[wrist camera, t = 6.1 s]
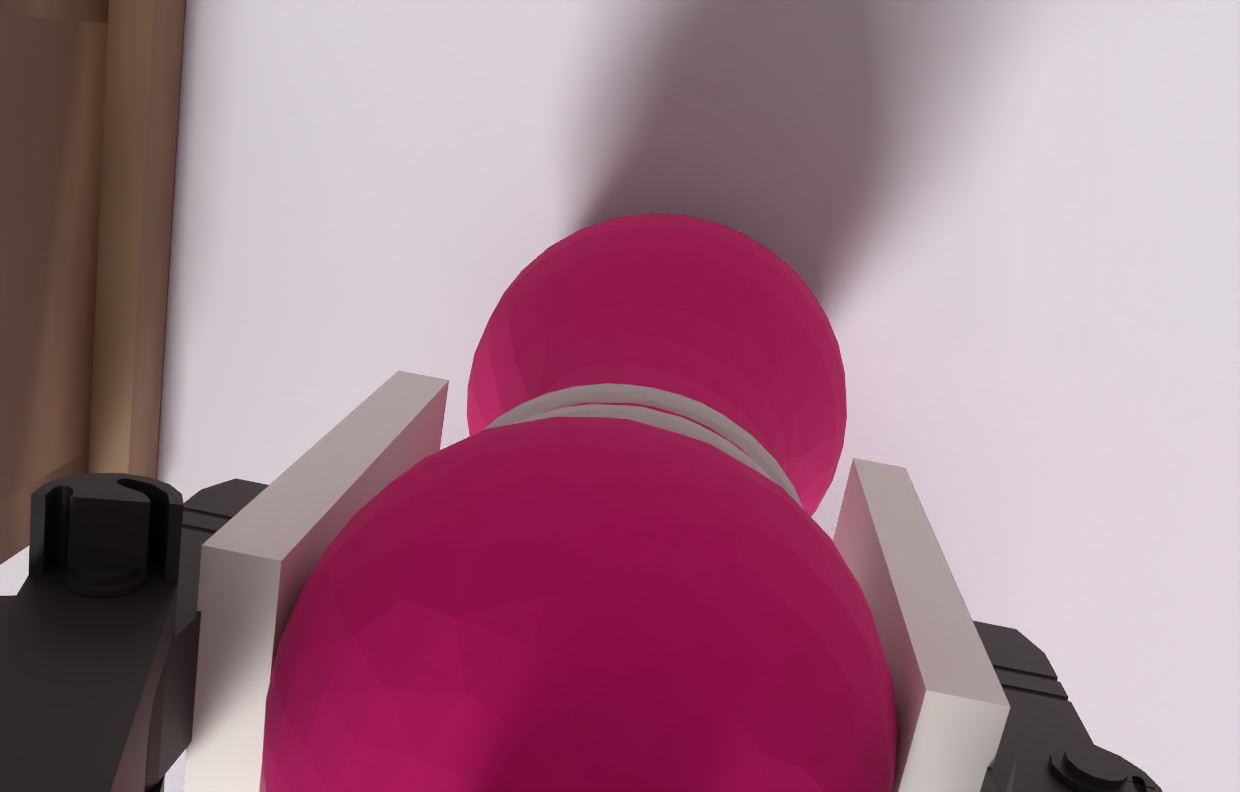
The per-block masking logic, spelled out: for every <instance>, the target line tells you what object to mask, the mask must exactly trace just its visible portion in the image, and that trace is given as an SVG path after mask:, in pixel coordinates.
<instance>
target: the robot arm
mask: <svg viewBox="0 0 1240 792" xmlns="http://www.w3.org/2000/svg"><path fill="white" fill-rule="evenodd" d="M448 383H449V380H444V379H439V378H434V377H429V376H423V375H418V374H413V373H408V372H402V371H398V372H397V373H395V374H394V375H393V376H392V377H391V378H390V379H389V380H387V381H386V382H385V383H384V384H383V385H382V386H381V387H380V388H378V389H377V390H376V391H375V392H374V393H373V394H372V395H371V396H369V397H368V398H367V399H366V400H365V401H364V402H363V403H362V404H360V405H359V406H358V407H357V408H356V409H355V410H354V411H353V412H351V413H350V414H349V415H348V416H347V417H346V418H345V419H343V420H342V421H341V422H340V423H339V424H338V425H337V426H336V427H334V428H333V429H332V430H331V431H330V432H329V433H328V434H327V435H325V436H324V437H323V438H322V439H321V440H320V441H319V442H318V443H316V444H315V445H314V446H313V447H312V448H311V449H310V450H308V451H307V452H306V453H305V454H304V455H303V456H302V457H301V458H299V459H298V460H297V461H296V462H295V463H294V464H293V465H292V466H290V467H289V468H288V469H287V470H286V471H285V472H284V473H283V474H281V475H280V476H279V477H278V478H277V479H276V480H275V481H273V482H272V483H271V484H270V485H266V484H261V483H256V482H251V481H246V480H241V479H233V480H230V481H227V482H223V483H220V484H217V485H214V486H211V487H208V488H205V489H202V490H200V491H199V492H198V493H196V494H195V495H194V496H192V497H191V498H190V499H189V500H187V501H186V502H185V503H183V498H182V494H181V493H180V492H179V491H177V490H176V489H175V488H174V487H172V486H171V485H170V484H167V483H164V482H161V481H159V480H156V479H153V478H150V477H145V476H138V475H132V474H125V473H88V474H81V475H73V476H66V477H63V478H60V479H57V480H54V481H51V482H48V483H45V484H43V485H42V486H41V487H39V488H38V489H37V490H35V491H34V492H33V493H32V494H31V514H30V549H29V576H28V577H27V579H26V581H25V582H24V584H23V586H22V587H21V589H20V591H19V592H18V594H17V596H0V792H164V779H165V774H166V772H167V771H168V770H169V769H170V767H171V766H172V765H173V764H174V762H175V761H176V760H177V759H178V757H179V756H180V755H181V754H182V753H183V751H184V750H185V749H186V748H187V749H186V763H185V776H184V790H183V792H266V787H265V779H264V771H263V763H262V753H263V738H264V722H265V706H266V697H267V692H268V688H269V684H270V679H271V675H272V671H273V666H274V662H275V657H276V653H277V649H278V644H279V641H280V639H281V636H282V634H283V632H284V629H285V627H286V625H287V622H288V620H289V617H290V615H291V613H292V610H293V608H294V606H295V603H296V601H297V599H298V596H299V594H300V591H301V589H302V588H303V586H304V584H305V583H306V581H307V579H308V578H309V576H310V574H311V573H312V571H313V569H314V568H315V566H316V564H317V563H318V561H319V559H320V558H321V556H322V554H323V553H324V551H325V550H326V548H327V547H328V546H329V545H330V543H331V542H332V541H333V540H334V539H335V537H336V536H337V535H338V534H339V532H340V531H341V530H342V529H343V528H344V526H345V525H346V524H347V523H348V522H349V520H350V519H351V518H352V517H353V515H354V514H355V513H356V512H357V511H359V510H360V509H361V508H362V507H363V506H364V505H365V504H367V503H368V502H369V501H370V500H371V499H372V498H373V497H374V496H376V495H377V494H378V493H379V492H380V491H381V490H382V489H384V488H385V487H386V486H387V485H388V484H389V483H391V482H392V481H393V480H395V479H396V478H398V477H399V476H400V475H402V474H403V473H404V472H406V471H407V470H408V469H410V468H411V467H412V466H414V465H415V464H417V463H418V462H419V461H421V460H422V459H423V458H425V457H427V456H429V455H431V454H433V453H436V452H438V451H439V450H440V443H441V435H442V428H443V420H444V413H445V405H446V398H447V391H448ZM833 543H834V544H835V546H836V548H837V549H838V551H839V552H840V554H841V556H842V557H843V559H844V561H845V562H846V564H847V565H848V567H849V569H850V570H851V572H852V574H853V575H854V577H855V578H856V580H857V582H858V583H859V585H860V587H861V589H862V591H863V593H864V596H865V598H866V600H867V603H868V605H869V607H870V610H871V612H872V615H873V618H874V621H875V625H876V628H877V631H878V635H879V638H880V641H881V644H882V648H883V651H884V654H885V658H886V661H887V664H888V668H889V671H890V674H891V677H892V681H893V690H894V699H895V708H896V716H897V767H896V777H895V782H894V788H893V792H1162V790H1161V788H1160V787H1159V786H1158V785H1157V784H1156V783H1155V782H1154V781H1153V780H1152V779H1151V778H1150V777H1149V776H1148V775H1147V774H1146V773H1145V772H1144V771H1142V770H1141V769H1139V768H1138V767H1136V766H1135V765H1133V764H1131V763H1130V762H1128V761H1127V760H1125V759H1124V758H1122V757H1121V756H1119V755H1116V754H1114V753H1112V752H1109V751H1107V750H1105V749H1102V748H1100V747H1098V746H1096V745H1094V744H1093V742H1092V740H1091V738H1090V736H1089V734H1088V733H1087V731H1086V729H1085V727H1084V725H1083V723H1082V721H1081V720H1080V718H1079V716H1078V714H1077V712H1076V710H1075V709H1074V707H1073V705H1072V703H1071V702H1069V701H1068V696H1067V694H1066V692H1065V690H1064V688H1063V686H1062V684H1061V683H1060V682H1058V681H1057V678H1058V677H1057V675H1056V673H1055V672H1054V670H1053V668H1052V666H1051V664H1050V662H1049V660H1048V659H1047V657H1046V655H1045V653H1044V652H1042V651H1041V650H1040V649H1039V648H1038V647H1037V646H1035V645H1034V644H1033V643H1032V642H1031V641H1029V640H1028V639H1027V638H1026V637H1025V636H1024V635H1022V634H1021V633H1020V632H1019V631H1018V630H1017V629H1012V628H1007V627H1002V626H997V625H992V624H987V623H982V622H977V621H972V618H971V616H970V614H969V612H968V609H967V607H966V605H965V602H964V600H963V598H962V596H961V593H960V591H959V589H958V587H957V584H956V582H955V580H954V577H953V575H952V573H951V571H950V568H949V566H948V564H947V562H946V559H945V557H944V555H943V552H942V550H941V548H940V546H939V543H938V541H937V539H936V537H935V534H934V532H933V530H932V527H931V525H930V523H929V521H928V518H927V516H926V514H925V512H924V509H923V507H922V505H921V502H920V500H919V498H918V496H917V493H916V491H915V489H914V487H913V484H912V482H911V480H910V477H909V475H908V473H907V471H906V468H903V467H897V466H892V465H887V464H882V463H877V462H871V461H866V460H861V459H856V458H853V461H852V465H851V469H850V473H849V478H848V482H847V486H846V490H845V494H844V498H843V502H842V507H841V511H840V515H839V519H838V523H837V527H836V531H835V536H834V540H833Z"/></svg>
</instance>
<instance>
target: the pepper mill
mask: <svg viewBox="0 0 1240 792" xmlns="http://www.w3.org/2000/svg"><path fill="white" fill-rule="evenodd" d="M846 419H847V411H846V388H845V372H844V367H843V363H842V359H841V354H840V350H839V345H838V342H837V340H836V337H835V335H834V332H833V330H832V327H831V325H830V322H829V320H828V318H827V316H826V314H825V313H824V311H823V309H822V308H821V306H820V304H819V303H818V301H817V299H816V298H815V296H814V294H813V293H812V291H811V290H810V289H809V288H808V287H807V286H806V284H805V283H804V282H803V281H802V280H801V278H800V277H799V276H798V275H797V274H796V273H795V271H794V270H793V269H792V268H790V267H789V266H788V265H787V264H786V263H785V262H783V261H782V260H781V259H780V258H779V257H778V256H776V255H775V254H774V253H773V252H772V251H771V250H769V249H767V248H766V247H764V246H763V245H761V244H759V243H758V242H756V241H754V240H753V239H751V238H749V237H748V236H746V235H744V234H742V233H740V232H737V231H735V230H732V229H730V228H727V227H725V226H722V225H720V224H718V223H715V222H711V221H707V220H702V219H698V218H693V217H689V216H684V215H671V214H644V215H635V216H627V217H619V218H614V219H611V220H608V221H605V222H602V223H599V224H596V225H593V226H590V227H587V228H584V229H581V230H579V231H577V232H575V233H574V234H572V235H570V236H568V237H566V238H565V239H563V240H561V241H559V242H557V243H556V244H554V245H552V246H550V247H549V248H548V249H546V250H545V251H544V252H543V253H542V254H541V255H539V256H538V257H537V258H536V259H535V260H534V261H533V262H531V263H530V264H529V265H528V266H527V267H526V268H524V269H523V270H522V271H521V273H520V274H519V275H518V276H517V278H516V279H515V280H514V281H513V282H512V284H511V285H510V286H509V287H508V289H507V290H506V291H505V292H504V294H503V296H502V297H501V299H500V301H499V303H498V305H497V306H496V308H495V310H494V312H493V313H492V315H491V317H490V319H489V321H488V323H487V326H486V328H485V330H484V333H483V335H482V337H481V340H480V342H479V344H478V347H477V349H476V351H475V354H474V359H473V364H472V369H471V374H470V379H469V383H468V396H467V420H468V427H469V435H470V437H468V438H466V439H464V440H461V441H459V442H457V443H455V444H453V445H451V446H448V447H446V448H444V449H442V450H440V451H438V452H436V453H433V454H431V455H429V456H427V457H425V458H423V459H422V460H421V461H419V462H418V463H417V464H415V465H414V466H412V467H411V468H410V469H408V470H407V471H406V472H404V473H403V474H402V475H400V476H399V477H398V478H396V479H395V480H393V481H392V482H391V483H389V484H388V485H387V486H386V487H385V488H384V489H382V490H381V491H380V492H379V493H378V494H377V495H376V496H374V497H373V498H372V499H371V500H370V501H369V502H368V503H367V504H365V505H364V506H363V507H362V508H361V509H360V510H359V511H357V512H356V513H355V514H354V515H353V517H352V518H351V519H350V520H349V522H348V523H347V524H346V525H345V526H344V528H343V529H342V530H341V531H340V532H339V534H338V535H337V536H336V537H335V539H334V540H333V541H332V542H331V543H330V545H329V546H328V547H327V548H326V550H325V551H324V553H323V554H322V556H321V558H320V559H319V561H318V563H317V564H316V566H315V568H314V569H313V571H312V573H311V574H310V576H309V578H308V579H307V581H306V583H305V584H304V586H303V588H302V589H301V591H300V594H299V596H298V599H297V601H296V603H295V606H294V608H293V610H292V613H291V615H290V617H289V620H288V622H287V625H286V627H285V629H284V632H283V634H282V636H281V639H280V641H279V644H278V649H277V653H276V657H275V662H274V666H273V671H272V675H271V679H270V684H269V688H268V692H267V697H266V706H265V722H264V738H263V753H262V763H263V771H264V779H265V787H266V792H893V788H894V782H895V777H896V767H897V716H896V708H895V699H894V690H893V681H892V677H891V674H890V671H889V668H888V664H887V661H886V658H885V654H884V651H883V648H882V644H881V641H880V638H879V635H878V631H877V628H876V625H875V621H874V618H873V615H872V612H871V610H870V607H869V605H868V603H867V600H866V598H865V596H864V593H863V591H862V589H861V587H860V585H859V583H858V582H857V580H856V578H855V577H854V575H853V574H852V572H851V570H850V569H849V567H848V565H847V564H846V562H845V561H844V559H843V557H842V556H841V554H840V552H839V551H838V549H837V548H836V546H835V544H834V543H833V541H832V540H831V538H830V537H829V536H828V535H827V534H826V533H825V532H824V531H823V530H822V529H821V528H820V526H819V525H818V524H817V523H816V522H815V521H814V520H813V519H812V518H811V516H812V515H813V514H814V513H815V511H816V510H817V508H818V506H819V504H820V502H821V501H822V499H823V497H824V495H825V493H826V491H827V490H828V488H829V486H830V484H831V482H832V481H833V478H834V474H835V471H836V468H837V464H838V461H839V458H840V455H841V451H842V448H843V443H844V435H845V427H846Z"/></svg>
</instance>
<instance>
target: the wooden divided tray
mask: <svg viewBox="0 0 1240 792" xmlns="http://www.w3.org/2000/svg"><path fill="white" fill-rule="evenodd" d="M184 14H185V0H0V564H2V563H3V562H5V561H6V560H8V559H9V558H11V557H12V556H14V555H15V554H17V553H18V552H20V551H21V550H23V549H24V548H26V547H27V546H29V545H30V514H31V494H32V493H33V492H34V491H35V490H37V489H38V488H39V487H41V486H42V485H43V484H45V483H48V482H51V481H54V480H57V479H60V478H63V477H66V476H73V475H81V474H88V473H125V474H132V475H138V476H145V477H150V478H153V479H156V468H157V452H158V436H159V420H160V403H161V387H162V371H163V355H164V339H165V322H166V306H167V290H168V274H169V258H170V241H171V225H172V209H173V193H174V176H175V160H176V144H177V128H178V112H179V95H180V79H181V63H182V47H183V31H184Z"/></svg>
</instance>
